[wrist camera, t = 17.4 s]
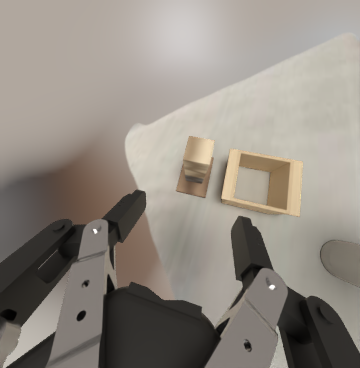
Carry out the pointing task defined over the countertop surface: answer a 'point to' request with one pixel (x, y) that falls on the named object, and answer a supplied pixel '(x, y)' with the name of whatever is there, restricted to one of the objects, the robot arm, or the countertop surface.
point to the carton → (278, 186)
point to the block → (197, 158)
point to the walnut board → (194, 187)
